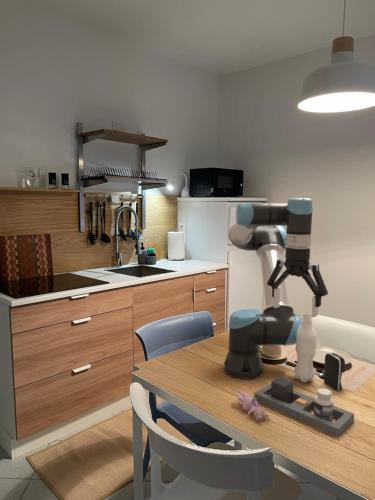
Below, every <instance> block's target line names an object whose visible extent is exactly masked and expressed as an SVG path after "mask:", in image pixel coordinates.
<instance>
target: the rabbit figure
mask: <svg viewBox="0 0 375 500" xmlns="http://www.w3.org/2000/svg"><path fill="white" fill-rule="evenodd" d="M234 395H235V396H236V397H237V400H238V401H239V402H240V403H241V405H242V406H241V407H242V409H243V410H244V411H245V412H247V414H248V415H250V414H251V413H252V414H253V415H254V418H255V420H256V421H257V422H261V423H260V424H264V421H265V420H266V419H267V423H269V422H271V419H270V417H269V415H268V414H266V411H265V410H266V408H264V407H260V405H259V402H257V399H256V398H254V397H251V396H250V395H249V393H247V392H246V391H239V392H238V393H237V392H235V394H234Z"/></svg>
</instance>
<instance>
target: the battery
mask: <svg viewBox="0 0 375 500" xmlns="http://www.w3.org/2000/svg"><path fill="white" fill-rule="evenodd" d="M345 372H346V361H345V358H343V356H341V355H339V354H337V353H335V352H329V353H328V352H327V353H326V354H325V355H324V373H323V375H324V377H323V378H324V379H323V382H324V383H325V384H326V385H327V386H329V387H330V388H332V389H333V390H336V391H339V390H342V388H343V386H342V383H341V382H342V380H341V379H342V375H343V374H344V373H345Z"/></svg>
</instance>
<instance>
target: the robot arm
mask: <svg viewBox="0 0 375 500" xmlns="http://www.w3.org/2000/svg"><path fill="white" fill-rule="evenodd" d="M313 211H314V208H313V200H312V198H309V197H307V198H305V197H303V198H302V197H298V198H297V197H294V198H288V200H287V202H284V203H282V202H281V203H277V202H276V203H273V202H272V203H257V202H256V203H251V202H244V203H238V204H237V205H236V209H235V222H236V223H235V224H233V225H232V226H230V229H229V231H228V239H229V241H230V243H231V244H232V245H233V246H235V247H236V248H238V249H239V250H241V251H242V250H243V251H253V252H256V253H255V254H256V256H257V257H258V258H260V264H261V273H262V280H263V281H262V283H263V289H264V290H263V291H264V298H265V308H264V309H263V310H262V313H261V311H260V310H259V309H257V308H256V309H255V308H254V309H253V308H243V309H238V310H236V311H233V312H232V313H231V314H230V315H229V321H228V352H227V353H226V357H225V360H224V362H223V371H224V373H225V374H227V375H228V376H229V377H232V378H234V379H235V378H236V379H240V380H241V379H242V380H250V379H251V380H252V379H257V378H259V377H261V376H263V374H264V370H265V369H264V364H263V361H262V357H261V354H260V346H284V347H285V346H294V345H296V333H297V330H298V329H299V327H300V326H301V324H302V323H301V320H302V319H301V317H300V314H298V313H295V311H294V308H293V306H291V305H289V300H288V299H289V298H288V295H287V294H288V293H287V287H286V281H285V280H286V279H287V278H288V277H289V276H295V277H299V278H302V279H303V280H304V281H305V283H306V284H307V286H308V287H309V289H310V291H312V293H313V296H312V300H311V313H312V318H316V317H317V316H319V307H321V305H322V297H325V296H328V294H329V291H328V289H327V286H326V284H325V281H324V279H323V276H322V274H321V271H320V264H319V263H316V264H311V263H310V258H311V248H309V247H311V245H312V244H311V242H312V239H311V238H312V218H313ZM284 226H286V230H285V228H284ZM284 251H285V255H284V257H285V260H284V259H283V258H282V255H283V254H284ZM284 267H285V270H284ZM309 270H310V271H311V272H312V274H311V273H310V271H309ZM312 276H313V277H312Z"/></svg>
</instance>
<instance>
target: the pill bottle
mask: <svg viewBox="0 0 375 500" xmlns="http://www.w3.org/2000/svg"><path fill="white" fill-rule="evenodd" d="M332 395H333V393H332V391H331V390H329V389H328V388H322V387H321V388H318V389H317V392H316V396H315V397H314V398H315V402H314V409H313V414H314V415H316V416H318V417H321V418H323V419H326V420H328V421H330V422H333V418H334V417H333V406H334V399H332V398H333V397H332Z"/></svg>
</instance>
